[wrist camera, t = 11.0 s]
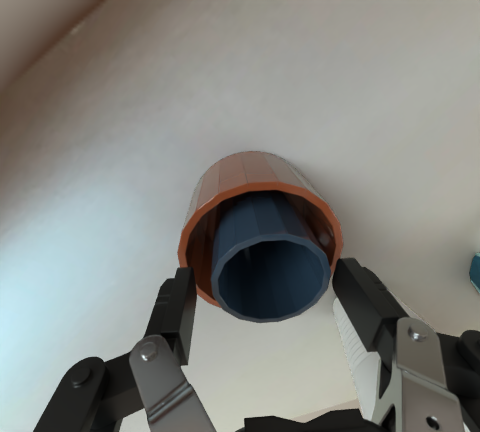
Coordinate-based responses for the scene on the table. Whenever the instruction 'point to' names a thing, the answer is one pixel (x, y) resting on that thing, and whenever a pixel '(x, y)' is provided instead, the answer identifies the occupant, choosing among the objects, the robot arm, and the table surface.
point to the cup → (363, 358)
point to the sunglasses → (475, 272)
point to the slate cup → (266, 258)
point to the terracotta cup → (240, 181)
